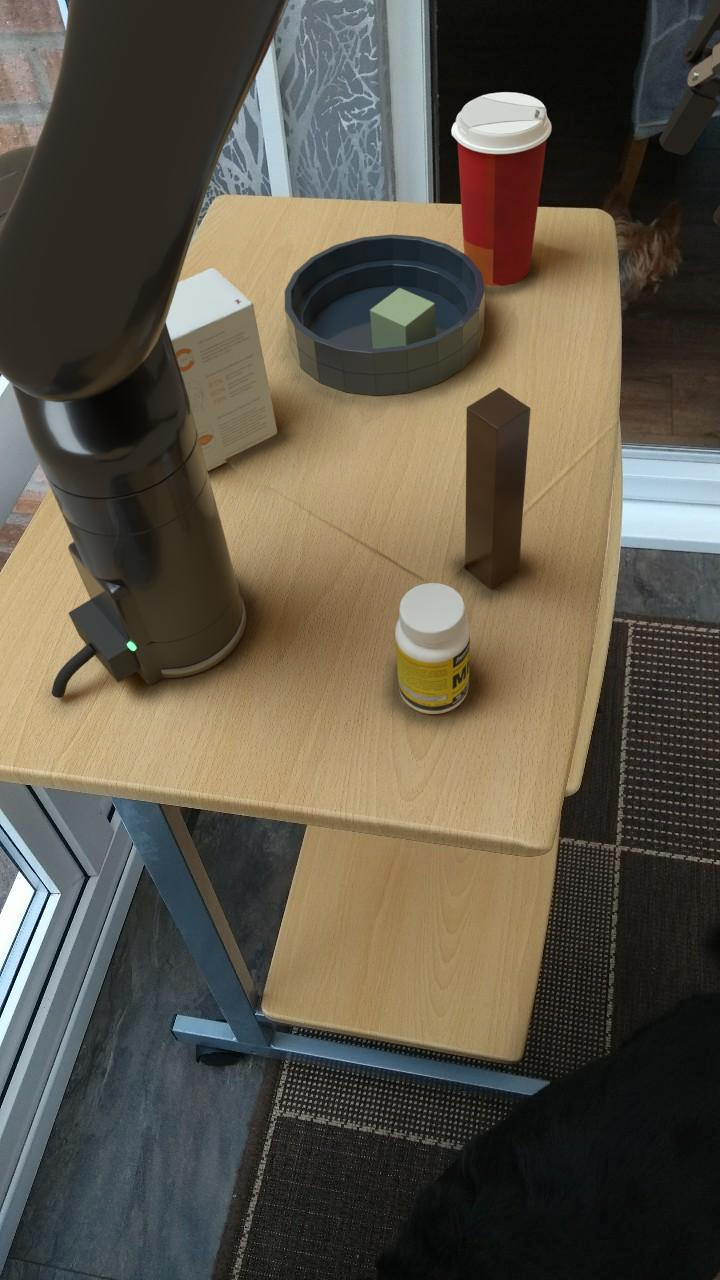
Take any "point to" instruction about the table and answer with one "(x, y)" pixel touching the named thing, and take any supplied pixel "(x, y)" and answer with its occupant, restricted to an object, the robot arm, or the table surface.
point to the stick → (495, 485)
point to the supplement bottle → (432, 648)
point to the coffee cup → (501, 181)
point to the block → (402, 320)
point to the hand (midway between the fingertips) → (697, 187)
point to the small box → (221, 365)
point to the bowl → (355, 283)
